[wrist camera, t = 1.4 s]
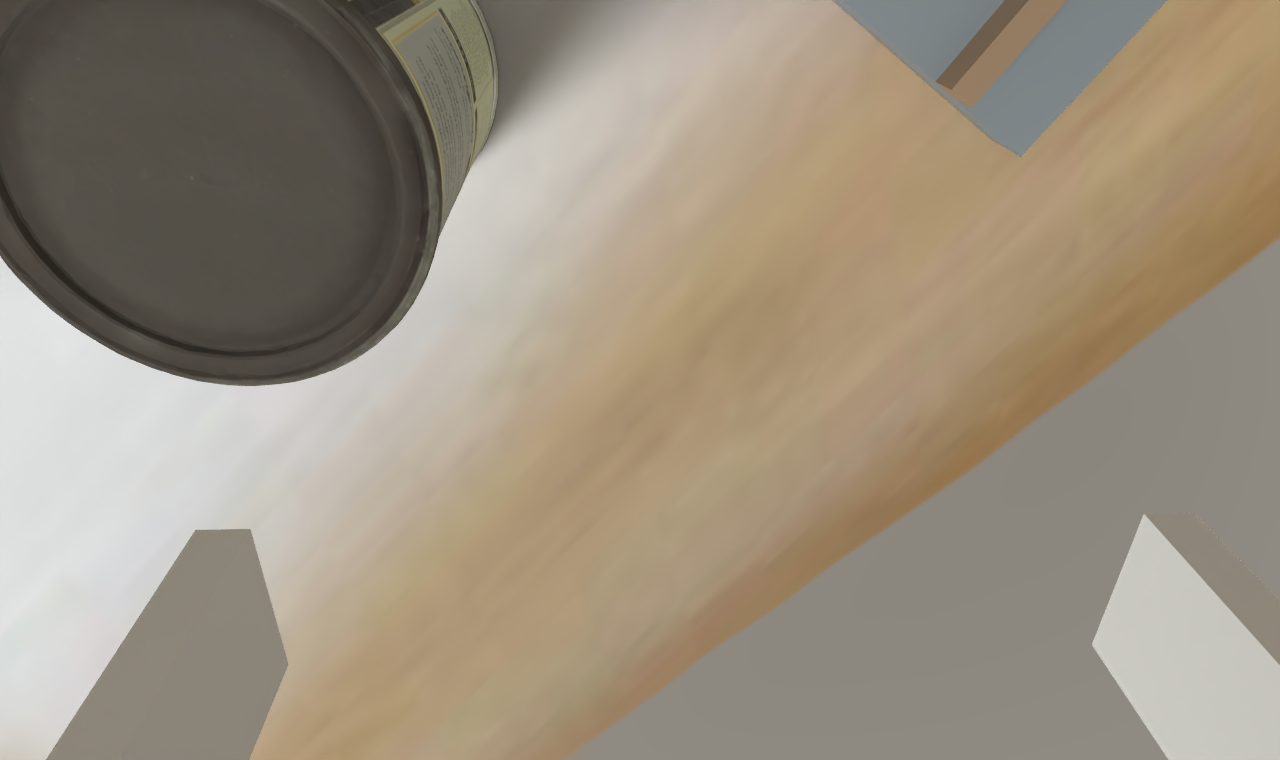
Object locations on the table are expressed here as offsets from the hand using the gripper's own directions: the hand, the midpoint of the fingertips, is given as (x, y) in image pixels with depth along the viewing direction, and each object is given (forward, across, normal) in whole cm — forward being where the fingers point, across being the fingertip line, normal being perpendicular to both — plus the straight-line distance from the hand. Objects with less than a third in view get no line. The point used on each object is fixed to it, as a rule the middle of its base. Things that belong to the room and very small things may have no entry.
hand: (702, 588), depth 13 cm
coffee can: (+23, -10, +4) cm, 26 cm away
